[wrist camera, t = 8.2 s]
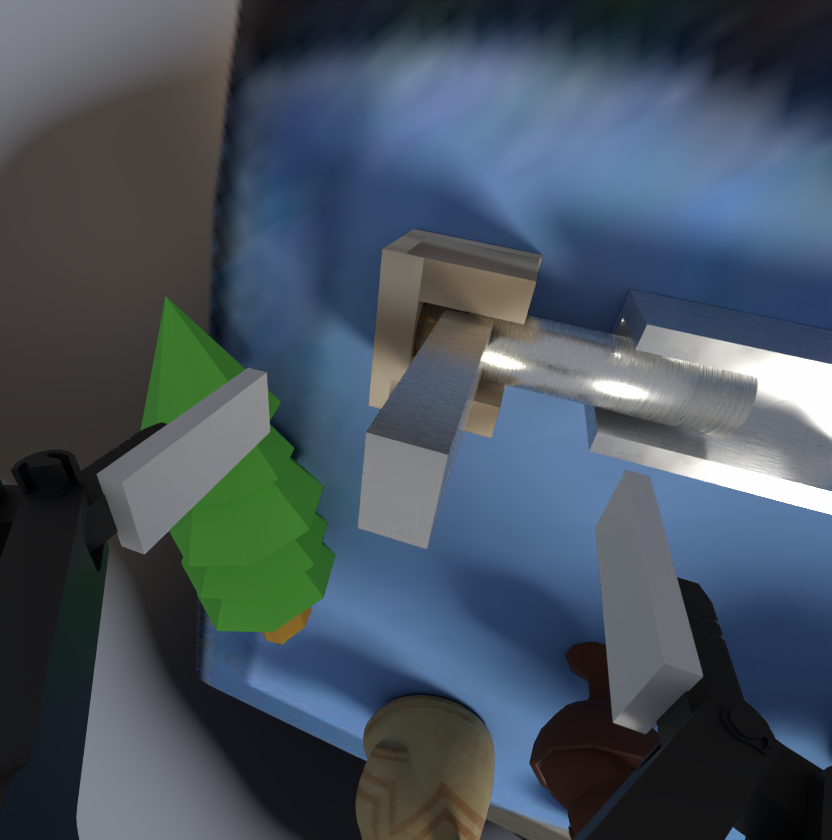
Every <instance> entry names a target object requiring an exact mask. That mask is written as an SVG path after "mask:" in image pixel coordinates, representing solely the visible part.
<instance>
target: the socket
mask: <svg viewBox="0 0 832 840" xmlns="http://www.w3.org/2000/svg"><path fill="white" fill-rule="evenodd" d="M541 260H542V255H541V254H536V253H531V252H526V251H521V250H516V249H511V248H506V247H501V246H496V245H491V244H486V243H481V242H476V241H472V240H467V239H462V238H457V237H452V236H447V235H442V234H437V233H432V232H427V231H422V230H417V229H413V230H411V231H410V232H408V233H407V234H405V235H404V236H402V237H400V238H399V239H397V240H396V241H394V242H393V243H391V244H389V245H388V246H386V247H385V248H383V249H382V258H381V270H380V281H379V293H378V304H377V316H376V327H375V339H374V350H373V362H372V373H371V385H370V396H369V406H373V407H376V408H380V409H382V407H383V406H384V404H385V402H386V401H387V399H388V398H389V396H390V395H391V393H392V392H393V390H394V389H395V387H396V385H397V384H398V382H399V381H400V379H401V378H402V376H403V375H404V373H405V372H406V370H407V368H408V367H409V365H410V364H411V362H412V361H413V348H414V340H415V334H416V329H417V325H418V321H419V317H420V314H421V311H422V308H423V305H424V302H426V303H431V304H435V305H440V306H444V307H448V308H453V309H457V310H462V311H466V312H471V313H475V314H479V315H484V316H488V317H493V318H497V319H502V320H506V321H510V322H515V323H519V324H524V323H525V320H526V316H527V313H528V309H529V306H530V302H531V299H532V296H533V292H534V289H535V285H536V282H537V275H538V270H539V267H540V263H541ZM504 388H505V385H504V384H500V383H496V382H492V381H488V380H484V379H480V380H479V384H478V388H477V392H476V395H475V398H474V401H473V405H472V408H471V411H470V414H469V417H468V420H467V424H466V427H465V430H464V431H467V432H471V433H474V434H478V435H482V436H486V437H489V438H491V437H492V434H493V430H494V427H495V423H496V420H497V416H498V413H499V409H500V405H501V401H502V396H503V392H504Z"/></svg>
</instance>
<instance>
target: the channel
mask: <svg viewBox="0 0 832 840" xmlns="http://www.w3.org/2000/svg"><path fill="white" fill-rule="evenodd" d="M611 334H615V335H619V336H624V337H628V338H631V339H632V342H633V344H634V347H635V350H639V351H643V352H648V353H652V354H656V355H661V356H665V357H670V358H674V359H679V360H683V361H687V362H692V363H696V364H701V365H705V366H710V367H714V368H718V369H723V370H727V371H732V372H736V373H741V374H745V375H749V376H754V377H757V379H758V387H757V394H756V398H755V402H754V404H753V407H752V409H751V412H750V413H749V415H748V417H747V419H746V420H745V422H744V423H743V424H742V426H741V427H740V428H739V429H738V430H737V431H736V432H735V433H733V434H732V435H730V436H728V437H725V438H719V437H715V436H711V435H707V434H703V433H698V432H694V431H690V430H686V429H682V428H678V427H674V426H670V425H666V424H662V423H658V422H654V421H650V420H646V419H642V418H638V417H634V416H630V415H626V414H622V413H617V412H613V411H609V410H605V409H601V408H597V407H593V406H589V405H585V404H584V405H585V415H586V425H587V434H588V444H589V451H592V452H595V453H599V454H603V455H607V456H611V457H614V458H618V459H622V460H626V461H630V462H634V463H637V464H641V465H645V466H649V467H653V468H657V469H660V470H664V471H668V472H672V473H676V474H680V475H683V476H687V477H691V478H695V479H699V480H702V481H706V482H710V483H714V484H718V485H722V486H725V487H729V488H733V489H737V490H741V491H745V492H748V493H752V494H756V495H760V496H764V497H767V498H771V499H775V500H779V501H783V502H787V503H790V504H794V505H798V506H802V507H806V508H810V509H813V510H817V511H821V512H825V513H829V514H832V331H831V330H826V329H821V328H817V327H812V326H807V325H802V324H797V323H792V322H788V321H783V320H778V319H773V318H768V317H763V316H759V315H754V314H749V313H744V312H739V311H735V310H730V309H725V308H720V307H715V306H710V305H706V304H701V303H696V302H691V301H686V300H681V299H677V298H672V297H667V296H662V295H657V294H652V293H648V292H643V291H638V290H633V289H630V290H629V292H628V294H627V297H626V299H625V302H624V304H623V306H622V309H621V311H620V314H619V316H618V319H617V321H616V323H615V326H614V328H613V331H612V333H611Z"/></svg>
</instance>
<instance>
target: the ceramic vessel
mask: <svg viewBox="0 0 832 840" xmlns="http://www.w3.org/2000/svg"><path fill="white" fill-rule="evenodd" d="M363 744H364V750H365V753H366V756H367V759H368V760H367V763H366V765H365V767H364V770H363V773H362V776H361V779H360V782H359V786H358V791H357V795H356V816H357V821H358V825H359V828H360V831H361V836H362V840H480V836H481V833H482V829H483V826H484V823H485V819H486V815H487V811H488V808H489V804H490V800H491V795H492V788H493V781H494V762H495V757H494V746H493V742H492V738H491V735H490V733H489V731H488V729H487V727H486V726H485V724H484V723H483V722H482V721H481V720H480V719H479V718H478V717H477V716H476V715H475V714H473V713H472V712H471V711H469V710H468V709H466V708H465V707H463V706H462V705H460V704H457V703H455V702H453V701H451V700H448V699H444V698H441V697H437V696H428V695H413V696H405V697H401V698H398V699H395V700H393V701H391V702H389V703H388V704H387V705H385V706H383V707H381V708H379V709H378V710H377V711H376V712H375V714H374V715H373V716H372V717H371V719H370V720H369V722H368V723H367V725H366V727H365V730H364V736H363Z"/></svg>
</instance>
